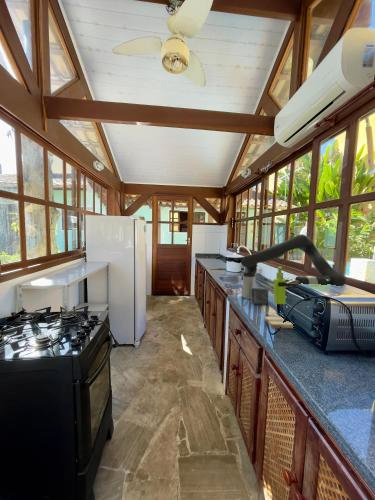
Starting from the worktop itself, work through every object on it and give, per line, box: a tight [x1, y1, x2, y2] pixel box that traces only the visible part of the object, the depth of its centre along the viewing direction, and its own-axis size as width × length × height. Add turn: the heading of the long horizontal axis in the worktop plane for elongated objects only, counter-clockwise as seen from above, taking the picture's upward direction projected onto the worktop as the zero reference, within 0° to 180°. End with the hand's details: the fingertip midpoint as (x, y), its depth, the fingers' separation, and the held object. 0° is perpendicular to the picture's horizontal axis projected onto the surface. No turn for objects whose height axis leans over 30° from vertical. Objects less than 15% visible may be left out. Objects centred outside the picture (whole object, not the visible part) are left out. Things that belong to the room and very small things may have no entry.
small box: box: [251, 287, 269, 305], centre depth 161 cm, size 11×6×10 cm, turn 84°
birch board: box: [263, 315, 294, 329], centre depth 125 cm, size 12×12×2 cm
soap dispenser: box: [273, 266, 287, 305], centre depth 124 cm, size 6×7×20 cm
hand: (276, 283), depth 123 cm, fingers closed on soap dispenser, 6 cm apart
